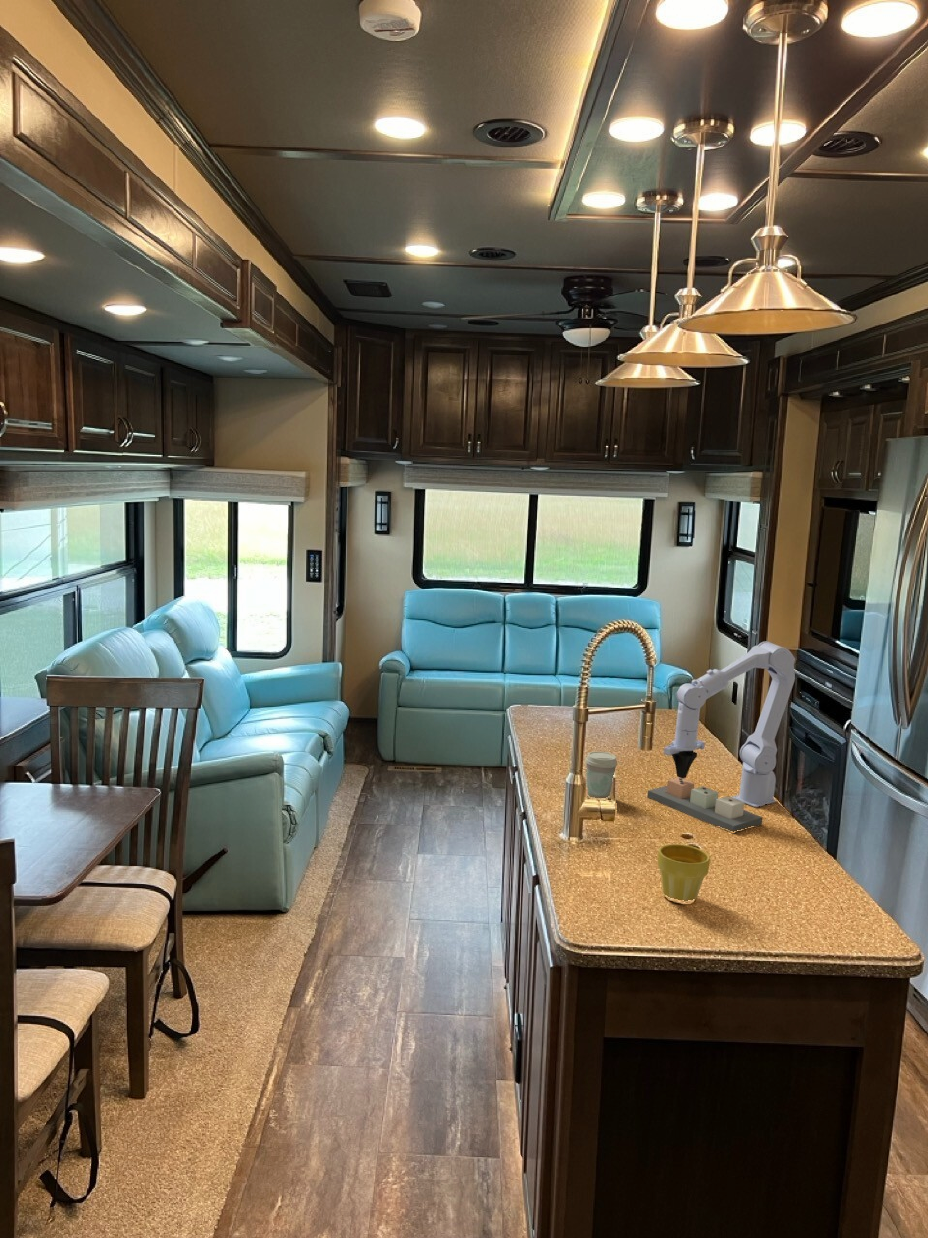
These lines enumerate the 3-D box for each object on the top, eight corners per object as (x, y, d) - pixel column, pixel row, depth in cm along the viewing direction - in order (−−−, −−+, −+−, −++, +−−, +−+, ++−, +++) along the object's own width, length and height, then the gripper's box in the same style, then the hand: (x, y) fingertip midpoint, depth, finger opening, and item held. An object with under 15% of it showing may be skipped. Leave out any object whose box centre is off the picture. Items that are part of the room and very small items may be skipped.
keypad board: (676, 790, 254) (676, 783, 253) (761, 824, 232) (762, 817, 231) (647, 797, 246) (648, 790, 246) (733, 833, 224) (734, 826, 224)
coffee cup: (577, 799, 241) (581, 756, 239) (588, 790, 249) (592, 748, 247) (607, 806, 237) (612, 763, 235) (618, 797, 245) (622, 754, 243)
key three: (678, 791, 248) (679, 776, 248) (692, 797, 245) (694, 782, 244) (666, 794, 245) (667, 779, 245) (680, 800, 242) (682, 785, 241)
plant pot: (668, 881, 195) (672, 838, 193) (713, 898, 189) (718, 854, 187) (645, 897, 187) (649, 852, 185) (691, 914, 181) (696, 868, 179)
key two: (701, 800, 242) (703, 785, 242) (717, 806, 238) (718, 791, 238) (689, 803, 239) (691, 788, 239) (705, 810, 235) (706, 794, 235)
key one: (726, 810, 236) (728, 795, 235) (742, 817, 232) (744, 801, 231) (714, 814, 233) (716, 798, 232) (730, 820, 229) (732, 804, 228)
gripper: (692, 721, 249) (686, 768, 252) (657, 727, 241) (652, 776, 243) (713, 728, 244) (707, 776, 246) (678, 735, 235) (672, 784, 237)
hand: (681, 777), depth 244 cm, fingers closed
